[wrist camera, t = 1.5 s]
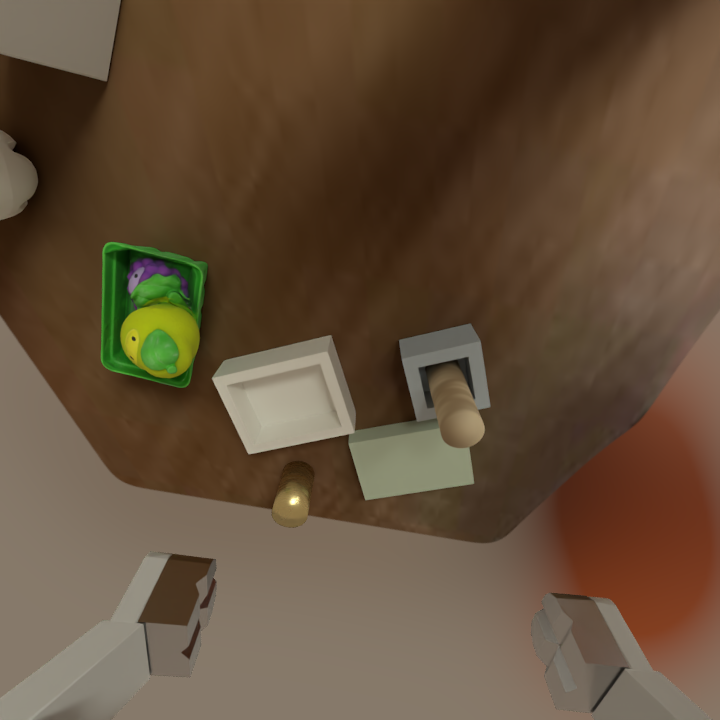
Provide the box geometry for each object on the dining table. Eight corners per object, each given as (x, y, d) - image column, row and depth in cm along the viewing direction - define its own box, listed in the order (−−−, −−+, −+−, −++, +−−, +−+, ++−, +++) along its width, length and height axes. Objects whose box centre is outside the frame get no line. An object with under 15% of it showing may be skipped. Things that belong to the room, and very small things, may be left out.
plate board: (461, 409, 44) (465, 423, 41) (469, 467, 47) (474, 483, 45) (349, 429, 45) (348, 443, 43) (365, 484, 48) (365, 500, 46)
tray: (331, 335, 40) (327, 351, 36) (355, 412, 43) (354, 432, 40) (224, 360, 41) (211, 378, 38) (257, 432, 45) (248, 454, 42)
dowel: (456, 349, 39) (481, 408, 30) (461, 378, 40) (487, 443, 31) (422, 356, 39) (437, 418, 30) (428, 385, 41) (444, 451, 32)
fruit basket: (135, 227, 36) (42, 258, 25) (238, 256, 36) (187, 297, 26) (130, 343, 41) (51, 408, 30) (221, 367, 41) (173, 436, 31)
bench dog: (308, 458, 46) (300, 498, 41) (318, 482, 48) (311, 524, 43) (278, 464, 47) (266, 505, 41) (288, 488, 48) (278, 530, 43)
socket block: (470, 323, 39) (480, 341, 35) (480, 385, 42) (490, 407, 38) (398, 340, 40) (401, 358, 36) (413, 399, 43) (417, 421, 39)
